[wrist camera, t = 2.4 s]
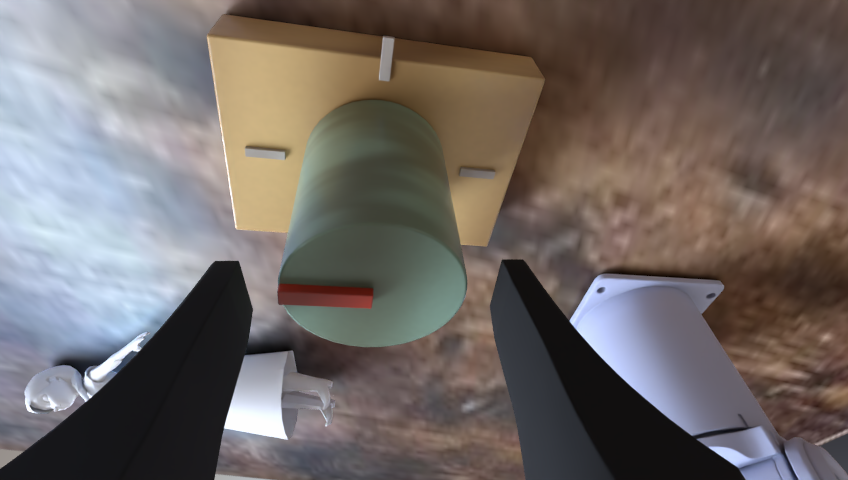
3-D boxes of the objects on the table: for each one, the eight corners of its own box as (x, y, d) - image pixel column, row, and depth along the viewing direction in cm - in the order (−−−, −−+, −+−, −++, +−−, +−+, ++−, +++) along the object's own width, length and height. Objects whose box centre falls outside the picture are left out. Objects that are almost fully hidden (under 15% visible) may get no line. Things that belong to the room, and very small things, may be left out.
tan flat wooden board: (538, 37, 17) (555, 61, 15) (477, 229, 23) (484, 260, 21) (218, -11, 15) (200, 11, 13) (246, 212, 21) (236, 244, 20)
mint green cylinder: (456, 107, 16) (490, 239, 11) (430, 220, 20) (449, 358, 15) (304, 90, 15) (269, 224, 10) (305, 210, 19) (280, 354, 14)
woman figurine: (334, 472, 31) (54, 467, 30) (342, 409, 34) (90, 402, 33) (319, 381, 23) (-61, 369, 22) (331, 310, 26) (1, 298, 25)
